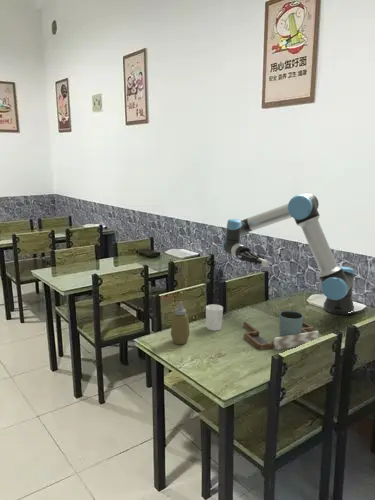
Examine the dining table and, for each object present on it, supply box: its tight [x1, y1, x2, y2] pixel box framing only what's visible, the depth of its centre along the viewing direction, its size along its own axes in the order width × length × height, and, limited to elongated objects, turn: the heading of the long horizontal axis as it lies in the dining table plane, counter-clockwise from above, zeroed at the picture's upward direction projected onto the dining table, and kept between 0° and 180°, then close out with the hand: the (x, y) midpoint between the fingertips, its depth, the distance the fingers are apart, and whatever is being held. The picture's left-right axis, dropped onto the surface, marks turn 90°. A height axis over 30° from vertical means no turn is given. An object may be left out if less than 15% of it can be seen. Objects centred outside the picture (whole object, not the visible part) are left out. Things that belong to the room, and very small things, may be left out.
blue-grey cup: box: [278, 310, 304, 337], centre depth 179 cm, size 10×10×12 cm
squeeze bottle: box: [170, 300, 191, 345], centre depth 175 cm, size 8×8×18 cm
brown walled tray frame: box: [242, 320, 320, 351], centre depth 186 cm, size 33×26×5 cm
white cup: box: [205, 303, 224, 332], centre depth 192 cm, size 8×8×10 cm
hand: (266, 264), depth 199 cm, fingers closed
